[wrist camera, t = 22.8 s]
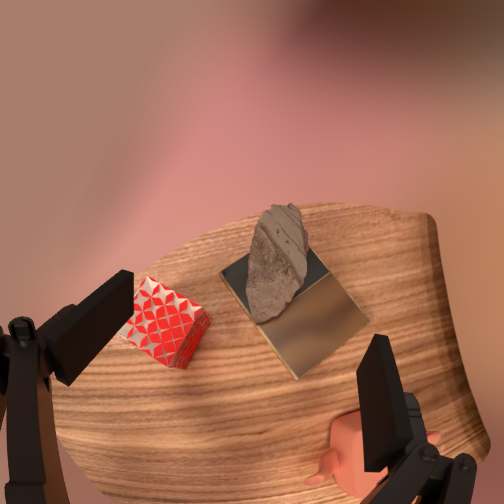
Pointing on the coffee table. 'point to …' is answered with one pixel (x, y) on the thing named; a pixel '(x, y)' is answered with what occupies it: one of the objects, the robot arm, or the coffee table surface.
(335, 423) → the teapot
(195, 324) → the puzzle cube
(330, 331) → the board
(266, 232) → the stone
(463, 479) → the robot arm
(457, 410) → the coffee table surface
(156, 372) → the coffee table surface
